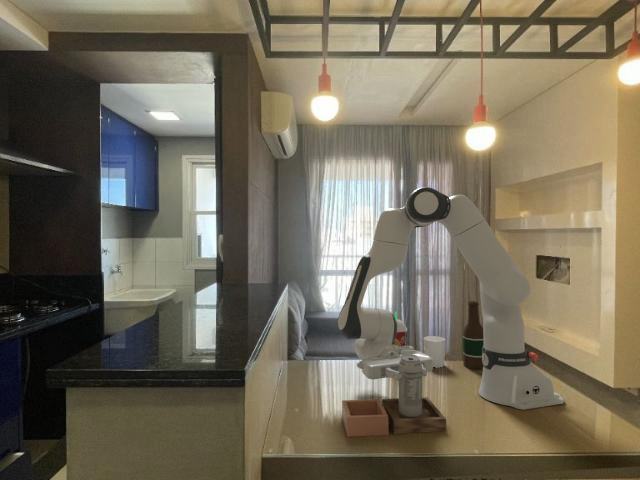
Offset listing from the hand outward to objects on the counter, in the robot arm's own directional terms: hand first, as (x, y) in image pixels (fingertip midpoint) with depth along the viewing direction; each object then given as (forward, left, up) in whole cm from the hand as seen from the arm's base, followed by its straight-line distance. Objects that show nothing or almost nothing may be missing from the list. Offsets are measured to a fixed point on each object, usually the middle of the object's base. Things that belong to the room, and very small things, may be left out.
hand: (412, 374), depth 98 cm
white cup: (-22, -43, -12) cm, 50 cm away
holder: (+13, +1, -12) cm, 18 cm away
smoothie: (-8, -45, -12) cm, 47 cm away
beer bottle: (-36, -40, -12) cm, 55 cm away
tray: (0, -1, -12) cm, 12 cm away
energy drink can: (0, -1, -11) cm, 11 cm away
